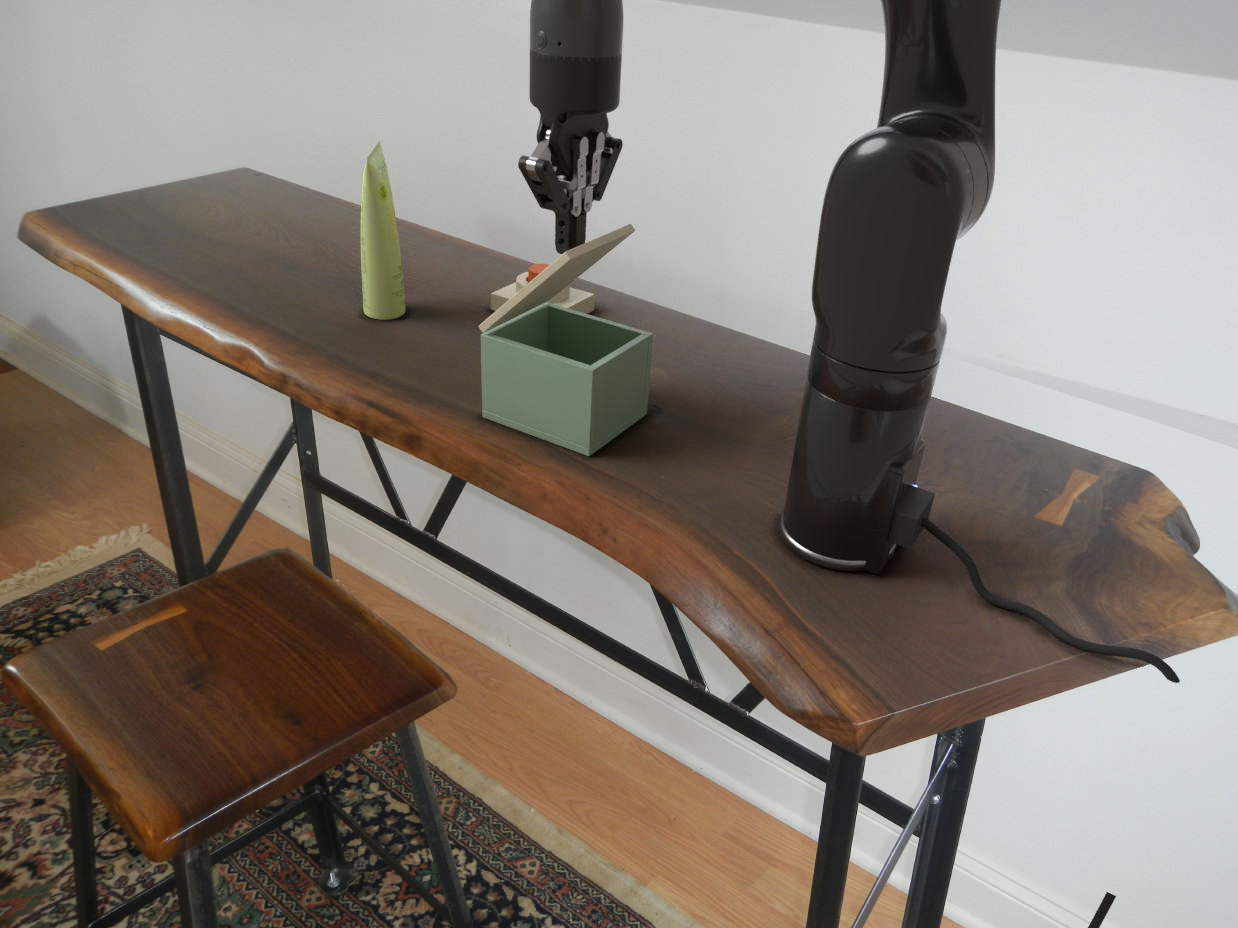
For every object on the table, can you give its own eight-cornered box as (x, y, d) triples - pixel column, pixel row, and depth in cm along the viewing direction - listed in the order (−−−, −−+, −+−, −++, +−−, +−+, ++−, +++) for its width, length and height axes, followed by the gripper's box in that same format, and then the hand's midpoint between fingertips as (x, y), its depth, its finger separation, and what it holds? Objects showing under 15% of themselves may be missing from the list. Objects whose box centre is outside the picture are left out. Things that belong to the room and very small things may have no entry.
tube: (417, 316, 115) (407, 149, 105) (380, 326, 111) (366, 155, 101) (391, 302, 118) (379, 139, 108) (354, 311, 115) (339, 144, 105)
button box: (594, 310, 119) (595, 280, 117) (557, 330, 113) (558, 298, 111) (529, 292, 123) (529, 262, 121) (490, 310, 117) (490, 279, 115)
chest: (647, 414, 96) (653, 333, 92) (589, 456, 88) (592, 370, 84) (545, 380, 102) (546, 302, 97) (482, 417, 94) (480, 334, 89)
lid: (635, 230, 88) (631, 223, 88) (570, 259, 80) (565, 251, 80) (548, 301, 97) (544, 294, 97) (482, 333, 89) (477, 326, 89)
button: (563, 282, 117) (564, 268, 116) (546, 290, 114) (546, 276, 113) (540, 275, 119) (540, 261, 118) (522, 283, 116) (522, 269, 115)
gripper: (567, 60, 71) (562, 282, 80) (656, 45, 81) (643, 244, 90) (488, 48, 74) (491, 263, 83) (582, 34, 84) (576, 228, 93)
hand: (570, 253), depth 86 cm, fingers closed
